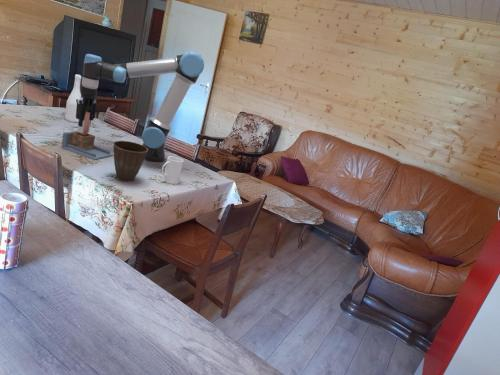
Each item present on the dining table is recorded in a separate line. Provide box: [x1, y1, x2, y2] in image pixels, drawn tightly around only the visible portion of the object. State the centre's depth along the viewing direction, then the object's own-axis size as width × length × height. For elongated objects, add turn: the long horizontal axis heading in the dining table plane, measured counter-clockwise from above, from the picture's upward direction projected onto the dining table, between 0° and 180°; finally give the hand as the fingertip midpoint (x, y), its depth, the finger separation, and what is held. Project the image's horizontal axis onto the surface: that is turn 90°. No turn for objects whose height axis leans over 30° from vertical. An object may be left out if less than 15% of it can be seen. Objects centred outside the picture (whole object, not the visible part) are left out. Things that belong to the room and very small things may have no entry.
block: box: [70, 131, 96, 150], centre depth 182 cm, size 8×8×7 cm
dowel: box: [79, 110, 90, 136], centre depth 179 cm, size 4×4×14 cm
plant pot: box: [113, 140, 148, 182], centre depth 161 cm, size 15×15×16 cm
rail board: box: [61, 130, 114, 161], centre depth 181 cm, size 20×14×8 cm
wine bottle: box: [64, 74, 82, 123], centre depth 226 cm, size 10×10×30 cm
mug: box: [161, 155, 185, 185], centre depth 174 cm, size 12×8×12 cm
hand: (83, 132), depth 180 cm, fingers closed on dowel, 3 cm apart
